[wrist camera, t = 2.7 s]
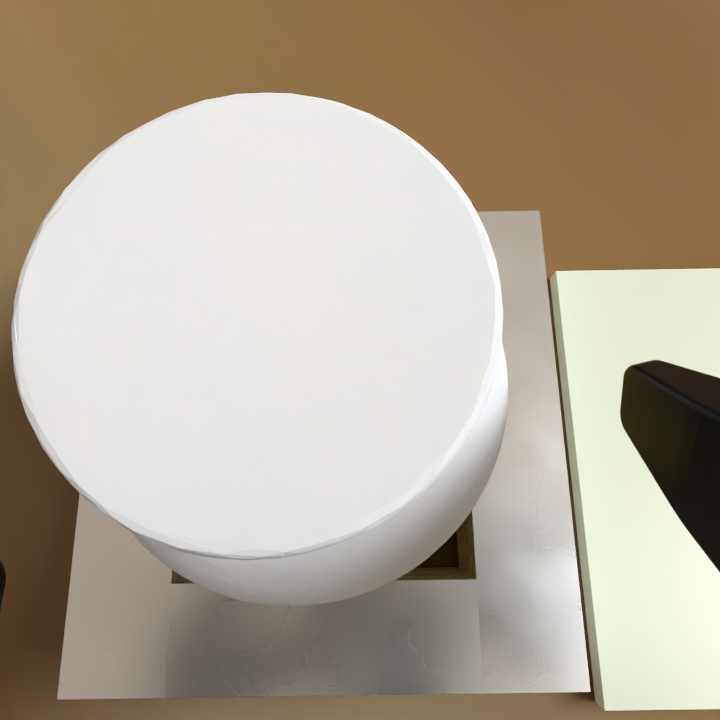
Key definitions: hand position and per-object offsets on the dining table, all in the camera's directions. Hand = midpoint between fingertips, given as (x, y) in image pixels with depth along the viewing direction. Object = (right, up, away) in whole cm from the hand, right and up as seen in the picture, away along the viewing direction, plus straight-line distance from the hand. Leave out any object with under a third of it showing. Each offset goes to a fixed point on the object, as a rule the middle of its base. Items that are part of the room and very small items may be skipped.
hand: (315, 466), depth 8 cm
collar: (0, -1, +9) cm, 9 cm away
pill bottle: (0, -1, +9) cm, 9 cm away
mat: (+11, -2, +8) cm, 14 cm away
